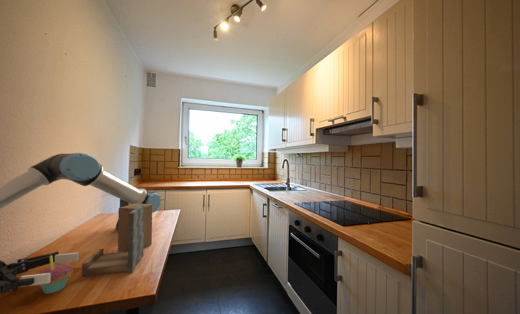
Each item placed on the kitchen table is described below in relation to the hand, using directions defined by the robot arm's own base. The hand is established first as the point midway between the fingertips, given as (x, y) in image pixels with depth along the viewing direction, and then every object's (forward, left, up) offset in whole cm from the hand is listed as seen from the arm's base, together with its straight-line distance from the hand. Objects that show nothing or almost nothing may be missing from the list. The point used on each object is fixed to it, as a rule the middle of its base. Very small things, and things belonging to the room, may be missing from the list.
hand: (65, 266), depth 66 cm
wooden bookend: (-11, +10, -7) cm, 17 cm away
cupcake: (0, -3, -7) cm, 8 cm away
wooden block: (-28, +12, -7) cm, 31 cm away
